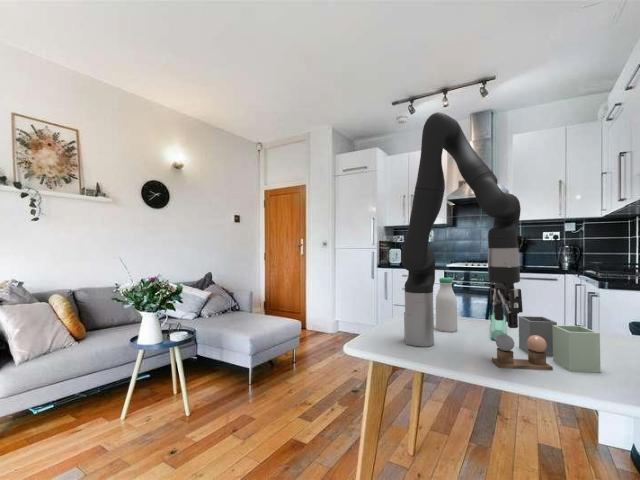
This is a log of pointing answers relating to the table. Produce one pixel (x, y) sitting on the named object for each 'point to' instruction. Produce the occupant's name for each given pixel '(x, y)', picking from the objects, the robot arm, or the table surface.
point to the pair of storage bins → (563, 343)
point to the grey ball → (504, 342)
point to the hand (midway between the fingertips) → (505, 323)
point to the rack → (522, 360)
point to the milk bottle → (446, 307)
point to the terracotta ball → (536, 343)
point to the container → (497, 327)
